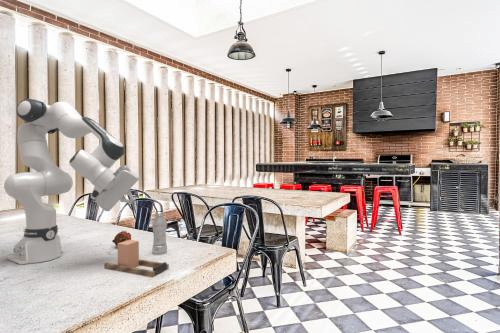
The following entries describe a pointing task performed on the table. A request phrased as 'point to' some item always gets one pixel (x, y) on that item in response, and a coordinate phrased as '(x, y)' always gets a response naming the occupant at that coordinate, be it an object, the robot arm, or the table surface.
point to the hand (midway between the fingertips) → (133, 201)
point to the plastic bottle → (159, 233)
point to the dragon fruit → (121, 237)
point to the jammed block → (128, 253)
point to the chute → (156, 270)
